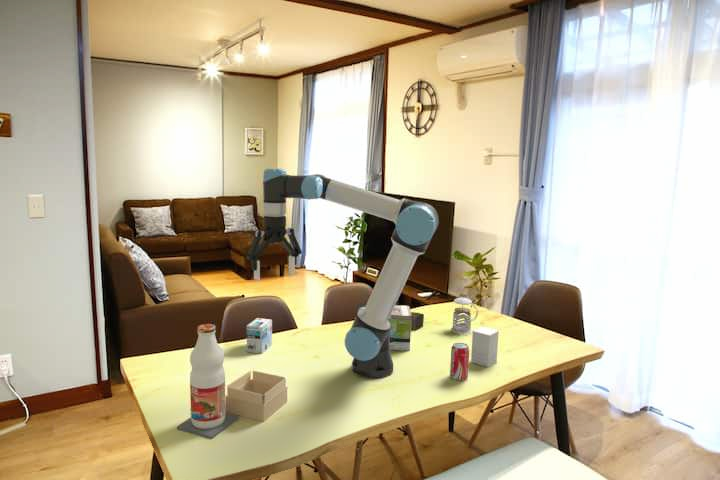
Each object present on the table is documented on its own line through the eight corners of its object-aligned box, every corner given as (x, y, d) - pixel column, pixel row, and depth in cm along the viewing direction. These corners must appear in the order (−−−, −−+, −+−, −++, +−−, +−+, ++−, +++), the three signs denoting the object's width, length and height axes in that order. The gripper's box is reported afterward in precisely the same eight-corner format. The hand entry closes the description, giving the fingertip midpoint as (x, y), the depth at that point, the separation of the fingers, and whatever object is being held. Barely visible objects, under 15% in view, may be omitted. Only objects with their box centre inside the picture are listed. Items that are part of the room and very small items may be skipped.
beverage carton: (387, 318, 242) (388, 305, 241) (424, 326, 233) (425, 312, 232) (379, 323, 236) (380, 309, 235) (417, 331, 226) (417, 317, 225)
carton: (287, 401, 157) (287, 377, 155) (263, 421, 144) (263, 395, 143) (251, 393, 161) (251, 369, 160) (225, 411, 149) (225, 386, 148)
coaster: (238, 418, 146) (238, 416, 146) (212, 438, 135) (212, 436, 135) (205, 409, 150) (205, 407, 150) (176, 428, 139) (176, 426, 139)
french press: (449, 326, 233) (452, 273, 229) (475, 328, 232) (478, 275, 228) (450, 333, 223) (453, 278, 220) (477, 335, 222) (480, 280, 218)
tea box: (410, 351, 201) (412, 315, 199) (385, 350, 202) (386, 314, 199) (407, 338, 216) (409, 304, 214) (384, 337, 217) (385, 303, 214)
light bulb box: (262, 354, 194) (262, 327, 193) (246, 352, 196) (245, 325, 194) (272, 344, 205) (272, 318, 203) (257, 342, 206) (256, 317, 204)
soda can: (466, 382, 174) (468, 349, 172) (448, 379, 176) (450, 346, 174) (469, 375, 180) (471, 343, 178) (451, 372, 182) (453, 340, 180)
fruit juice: (232, 420, 143) (231, 326, 139) (203, 433, 136) (201, 334, 132) (212, 409, 149) (210, 318, 145) (184, 422, 142) (181, 326, 138)
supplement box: (497, 362, 192) (499, 330, 190) (487, 367, 187) (489, 335, 185) (480, 356, 197) (482, 325, 195) (470, 362, 192) (472, 330, 190)
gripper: (299, 212, 179) (299, 270, 182) (235, 215, 163) (235, 279, 166) (311, 214, 173) (311, 274, 177) (246, 218, 157) (246, 284, 161)
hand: (274, 277), depth 171 cm, fingers open, 13 cm apart
